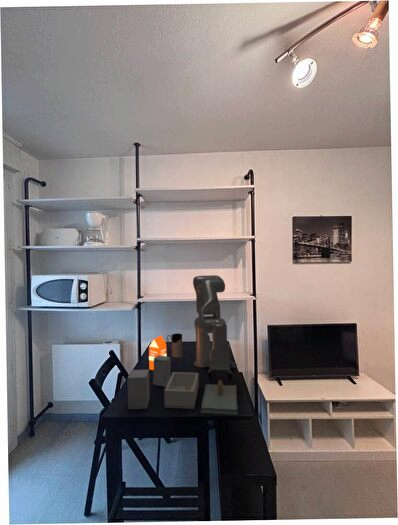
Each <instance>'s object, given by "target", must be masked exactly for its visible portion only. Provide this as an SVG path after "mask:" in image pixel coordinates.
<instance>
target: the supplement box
mask: <svg viewBox="0 0 398 525" xmlns="http://www.w3.org/2000/svg"><path fill="white" fill-rule="evenodd" d="M126 380H127V409H128V410H143V409H144V410H146V409H147V408H148V406H149V402H150V399H151V397H150V396H151V395H150V391H151V390H150V369H131V371H130V373H129V375H128V377H127V379H126Z"/></svg>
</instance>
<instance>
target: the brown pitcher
mask: <svg viewBox="0 0 398 525" xmlns="http://www.w3.org/2000/svg"><path fill="white" fill-rule="evenodd" d="M169 337H170V341H171V344H170V342H169ZM166 340H167V344H168V346H169V347H170V349H171V358H172V357H173V358H181V357H183V356H184V354H183V352H184V351H183V334H182V333H173V334H167V336H166Z"/></svg>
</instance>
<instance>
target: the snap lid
mask: <svg viewBox="0 0 398 525" xmlns="http://www.w3.org/2000/svg"><path fill="white" fill-rule="evenodd" d="M237 387H238V386H237V385H234V384H233V385H232V384H231V385H230V384H223V380H222V379H221V380H220V379H219V380H218V382H217V384H213V383H212V384H211V383H210V384H209V383H205V387H204V392H203V396H202V401H201V406H200V413H201V414H212V415H228V416H239V415H238V414H239V413H238V412H239V410H238V409H239V408H238V407H239V406H238V390H237V389H238V388H237Z"/></svg>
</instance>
